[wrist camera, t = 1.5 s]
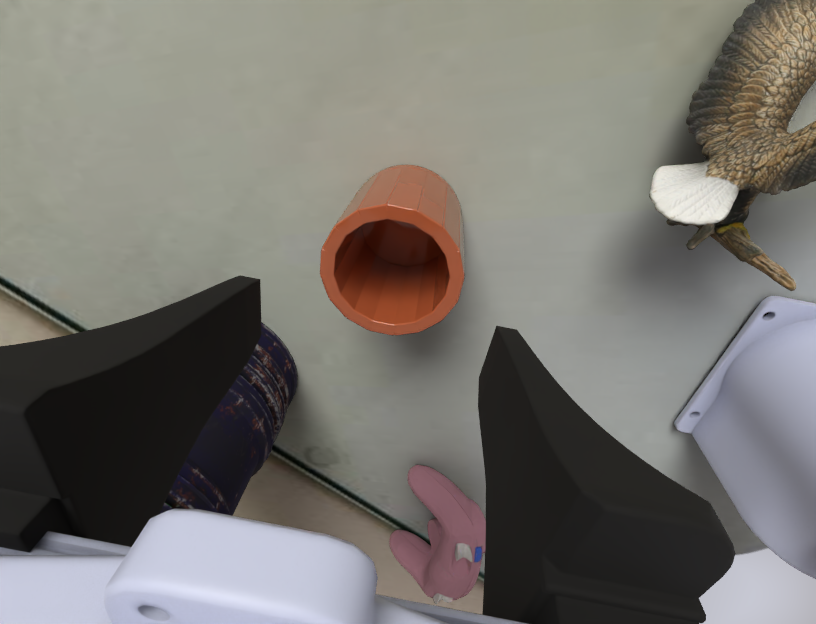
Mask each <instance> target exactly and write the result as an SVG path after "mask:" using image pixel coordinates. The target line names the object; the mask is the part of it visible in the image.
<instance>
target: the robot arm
mask: <svg viewBox="0 0 816 624" xmlns="http://www.w3.org/2000/svg"><path fill="white" fill-rule="evenodd" d="M767 312H769V314H767V315H766V316H763V315H764V314H765V313H767ZM260 337H261V296H260V279H255V278H250V277H245V276H237V277H235V278H232V279H229V280H227V281H225V282H222V283H220V284H218V285H215V286H213V287H211V288H209V289H206V290H204V291H202V292H200V293H197V294H195V295H193V296H190V297H188V298H186V299H183V300H181V301H178V302H176V303H173V304H171V305H168V306H166V307H163V308H160V309H158V310H155V311H153V312H150V313H147V314H144V315H142V316H138V317H135V318H132V319H129V320H126V321H122V322H119V323H116V324H112V325H109V326H105V327H101V328H97V329H93V330H88V331H84V332H80V333H75V334H71V335H67V336H62V337H57V338H52V339H46V340H41V341H35V342H28V343H22V344H16V345H9V346H1V347H0V624H699V623H703V622H704V621H705V620H706V614H705V612H704V610H703V607H702V605H701V603H700V601H699V597H700V596H701V595H703V594H704V593H705V592H706V591H707V590H708V589H709V588H710V587H712V586H713V585H714V584H715V583H716V582H717V581H718V580H719V579H721V578H722V577H723V576H724V575H725V573H726V572H727V571H728V570H729V568H730V567H731V565H732V563H733V560H734V556H735V551H734V547H733V543H732V542H731V540H730V538H729V536H728V534H727V533H726V531H725V529H724V527H723V525H722V524H721V522H720V520H719V518H718V516H717V515H716V513H715V511H714V509H713V507H712V506H711V504H710V503H709V502H707V501H706V500H704V499H703V498H701V497H699V496H698V495H696V494H694V493H693V492H691V491H689V490H688V489H686V488H685V487H683V486H681V485H680V484H678V483H676V482H675V481H673V480H671V479H670V478H668V477H667V476H665V475H664V474H662V473H661V472H659V471H658V470H656V469H655V468H654V467H652V466H651V465H649V464H648V463H646V462H645V461H643V460H642V459H641V458H639V457H638V456H637V455H635V454H634V453H633V452H631V451H630V450H629V449H627V448H626V447H625V446H623V445H622V444H621V443H620V442H619V441H617V440H616V439H615V438H614V437H612V436H611V435H610V434H609V433H607V432H606V431H605V430H604V429H603V428H602V427H601V426H599V425H598V424H597V423H596V422H595V421H594V420H593V419H592V418H591V417H590V416H589V415H588V414H587V413H586V412H584V411H583V410H582V409H581V408H580V407H579V406H578V405H577V404H576V403H575V402H574V401H573V400H572V398H571V397H570V396H569V395H568V394H567V393H566V392H565V391H564V390H563V388H562V387H561V386H560V385H559V384H558V383H557V382H556V380H555V379H554V378H553V377H552V376H551V374H550V373H549V372H548V371H547V369H546V368H545V367H544V366H543V364H542V363H541V362H540V360H539V359H538V358H537V356H536V355H535V354H534V352H533V351H532V350H531V348H530V347H529V345H528V344H527V343H526V341H525V340H524V339H523V337H522V336H521V335H520V333H519V332H518V331H517V330H515V329H510V328H505V327H500V326H496V329H495V332H494V335H493V338H492V341H491V344H490V347H489V350H488V353H487V356H486V359H485V361H484V364H483V367H482V370H481V373H480V376H479V394H478V409H479V419H480V429H481V438H482V447H483V456H484V465H485V478H486V542H485V575H484V599H483V615H481V614H476V613H470V612H465V611H460V610H455V609H450V608H444V607H439V606H434V605H429V604H424V603H419V602H413V601H408V600H403V599H398V598H393V597H387V596H382V595H377V594H375V592H376V586H377V579H378V577H377V573H376V569H375V565H374V562H373V561H372V559H371V558H370V557H369V556H368V555H367V554H365V553H364V552H363V551H362V550H361V549H359V548H358V547H357V546H356V545H355V544H353V543H351V542H348V541H346V540H343V539H340V538H337V537H334V536H331V535H328V534H324V533H319V532H314V531H309V530H303V529H298V528H293V527H288V526H283V525H278V524H272V523H267V522H262V521H257V520H252V519H247V518H241V517H236V516H231V515H226V514H221V513H216V512H210V511H205V510H199V509H172V510H168V511H166V512H164V513H161V514H159V513H160V511H161V509H162V507H163V505H164V503H165V501H166V499H167V497H168V494H169V492H170V490H171V488H172V486H173V484H174V482H175V480H176V478H177V476H178V474H179V472H180V470H181V468H182V467H183V465H184V463H185V461H186V459H187V457H188V455H189V453H190V451H191V449H192V447H193V446H194V444H195V442H196V440H197V438H198V436H199V435H200V433H201V431H202V429H203V428H204V426H205V424H206V423H207V421H208V420H209V418H210V416H211V415H212V414H213V412H214V411H215V409H216V408H217V406H218V405H219V403H220V402H221V401H222V399H223V398H224V396H225V395H226V393H227V392H228V391H229V389H230V388H231V386H232V385H233V383H234V382H235V380H236V379H237V377H238V376H239V375H240V373H241V372H242V370H243V369H244V367H245V366H246V364H247V363H248V361H249V359H250V357H251V355H252V353H253V351H254V349H255V347H256V345H257V343H258V341H259V339H260ZM692 412H694V413H692ZM674 425H675V427H676V429H677V430H678V431H681V432H685V433H690V434H692V436H693V437H694V439H695V441H696V442H697V444H698V446H699V447H700V449H701V451H702V452H703V454H704V456H705V457H706V459H707V461H708V462H709V464H710V466H711V467H712V469H713V471H714V472H715V474H716V476H717V477H718V479H719V481H720V482H721V484H722V486H723V487H724V489H725V491H726V492H727V494H728V496H729V497H730V499H731V501H732V502H733V504H734V506H735V507H736V509H737V511H738V512H739V514H740V516H741V517H742V519H743V520H744V521H745V523H746V524H747V525H748V527H749V528H750V529H751V530H752V531H753V533H754V534H755V535H756V536H757V537H758V538H759V539H760V540H761V541H762V542H763V543H764V544H765V545H766V546H767V547H768V548H769V549H771V550H772V551H773V552H774V553H775V554H776V555H778V556H779V557H780V558H781V559H783V560H784V561H785V562H787V563H788V564H789V565H791V566H793V567H794V568H796V569H797V570H799V571H801V572H803V573H805V574H807V575H808V576H811V577H813V578H815V579H816V303H811V302H806V301H801V300H796V299H791V298H786V297H781V296H769V297H767V298H765V299H764V300H763V301H762V302H761V303H760V304H759V305H758V307H757V308H756V310H755V311H754V312H753V314H752V315H751V316H750V318H749V319H748V321H747V322H746V323H745V325H744V326H743V328H742V329H741V330H740V332H739V333H738V334H737V336H736V337H735V339H734V340H733V341H732V343H731V344H730V346H729V347H728V348H727V350H726V351H725V352H724V354H723V355H722V357H721V358H720V359H719V361H718V362H717V363H716V365H715V366H714V368H713V369H712V370H711V372H710V373H709V375H708V376H707V377H706V379H705V380H704V381H703V383H702V384H701V386H700V387H699V388H698V390H697V391H696V393H695V394H694V395H693V397H692V398H691V399H690V401H689V402H688V404H687V405H686V406H685V408H684V409H683V411H682V412H681V413H680V415H679V416H678V417H677V419H676V420H675V422H674Z"/></svg>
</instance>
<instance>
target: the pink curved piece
mask: <svg viewBox="0 0 816 624" xmlns="http://www.w3.org/2000/svg"><path fill="white" fill-rule="evenodd" d="M408 484H409V485H410V487H411V489H412V491H413V493H414V494H415V495H416V496H417V497H418V498H419V499H420V500H421V501H422V503H423V504H424V505H425V506H426V507H427V508H428V509H429V510H430V511H431V512H432V514H433V515H434V516H435V517H436V518H434V519H432V520H430V521H429V522H428V535H429V539H430V543H431V546H430V545H429V544H427V543H426V542H425V541H424V540H422V539H421V538H420V537H418V536H416V535H415V534H413V533H410V532H408V531H404V530H401V529H400V530H396V531H394V532H393V533H392V534H391V536H390V549H391V551H392V553H393V555H394V556H395V558H396V559H397V561H398V562H399V563H400V564H401V565H402V566H403V567H404V568H405V569H406V570H407V571H408V572H409V573H410V574H411V575H412V576H413V578H414V579H415V580H416V581H417V583H418V584H419V585H420V587H421V588H422V590H423V591H424V593H425V594H426V595H427V596H428V597H431V598H433V600H434V603H435V604H437V603H438V602H439V601H440V600H443V601H445V602H452V601H453V600H457V599H459V598H461V597H464V596H466V595H467V594H468V593H469V592H470V591H471V590H472V588H473V587H474V585H475V583H476V580H477V578H478V574H479V571H480V566H481V560H482V554H483V553H485V542H486V520H485V518H484V515H483V513H482V511H481V510H480V508H479V506H478V505H477V504H476V503H475V502H474V501H473V500H471V499H468V498H467V497H466V496H465V495H464V494H463V492H462V491H461V490H460V489H459V488H458V487H457V486H456V485H455V484H454V483H453V482H451V481H450V480H449V479H448V478H447V477H445V476H444V475H443V474H441V473H439V472H438V471H436V470H434V469H433V468H430V467H428V466H423V465H415V466H413V467H412V468H411V469H410V470H409V472H408Z"/></svg>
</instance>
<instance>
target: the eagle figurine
mask: <svg viewBox="0 0 816 624" xmlns="http://www.w3.org/2000/svg"><path fill="white" fill-rule="evenodd" d="M733 26H734V32H732V33H731V34H730V35H729V37H728V39H727V41H726V42H725V43H724V44H723V48H722V52H723V55H721V56H719V57H718V58H717V60H716V62H715V65H714V66H713V68H711V69H710V72H709V76H708V77H709V78H708V79H707V80H706V81H704V82H702V83H701V84H700V86H699V89H698V90H697V91H696V92H695V93H694V94H693V99H692V102H691V103H690V108H689V109H690V114H689V116H688V117H687V121H686V123H687V124H688V125H689V128H688V130H689V133H692V134H695V135H696V141H697V143H698V144H699V145H703V149H702V154H703V156H705V157H706V161H705V162H701V163H693V164H685V165H668V166H661V167H659V168H658V169H657V170H656V172H655V173H654V175H653V178H652V186H651V190H650V193H649V197H650V199H651V200H652V201H653V202H654V205H655V208H656V209H657V211H658V212H660V213H661V214H663V215H664V216H665V217H666V218H667V219H668V220H667V221H666V222H667V224H668V225H670V226H674V225H683V226H688V225H695V226H697V227H698V228H699V229H698V231H697V232H696V234H695V235H694V236H693V237H692V238H691V239H690V240H689V241H688V243H687V244H686V246H687V248H688V249H689V250H692V249H694V248H695V247H696V246H697V245H698V244H700V243H701V242H702V241H703V240H704V239H706V238H707V237H709V236H711V237H712V238H713V239H715V240H716V241H717V242H719V243H720V244H721V245H722V246H723V247H724V248H726V249H727V250H728V251H730V252H731V253H732V254H734V255H735V256H736V257H737V258H738V259H739V260H740V261H743V262H747V263H748V264H750V265H752V266H754V267H755V268H757V269H759V270H760V271H762V272H763V273H765V274H766V275H768V276H769V277H770V278H772V279H773V280H774V281H776V282H777V283H779V284H780V285H782V286H783V287H785V288H786V289H788V290H790V291H793V290H795V289H796V283H795V281H794V280H793V279H792V278H791V276H790V275H789V274H788V273H787V271H786V270H785V269H784V268H782V267H781V266H780V265H778V264H777V263H775V262H774V261H772V260H771V259H770V258H769V257H768V256H767V255H766V254H765V253H764V252H763V250H762V249H761V248H760V247H759V246H757V245H756V244H755V243H753V242H752V241H751V240H750V236H749V234H748V231H747V229H746V228H745V227H744V224H743V223H744V221H745V220H746V218H747V216H748V214H749V206H750V205H751V204H752V202H753V201H754V199H755V198H756V196H757V195H758V194H759V193H760V192H762V193H770V194H771V195H777V194H779V193H780V192H781V191H782V190H784V191H789V190H791V189H796V188H798V187H801V186H805V185H807V184H809V183H810V182H813V181H816V121H815V122H813V123H811V124H809V125H808V126H806V127H805V128H803V129H801V130H798V131H796V132H795V133H792V134H789V133H788V132H787V126H788V123H789V121H790V119H791V117H792V115H793V113H794V112H795V110H796V108H797V107H798V105H799V103H800V101H801V99H802V98H803V96H804V95H805V93H806V92H807V90H808V89H809V88H810V86H811V85H812V84H813V83H814V81H815V80H816V0H755V2H754V3H752V4H750V5H748V6H747V7H746V8H745V9H744V12H743V15H742V16H741V17H739V18H738V19H737V20H736V21H735V23H734V25H733Z"/></svg>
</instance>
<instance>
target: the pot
mask: <svg viewBox="0 0 816 624" xmlns="http://www.w3.org/2000/svg"><path fill="white" fill-rule="evenodd" d="M320 274H321V278H322V281H323V284H324V286H325V289H326V292H327V295H328V297H329V298H330V300H331V301H332V303H333V304H334V305H335V306H336V307H337V308H338V309H339V310H340V312H341V313H342V314H343V315H344V316H345V317H347V319H349V320H351V321H353V322H354V323H356V324H358V325H360V326H361V327H363V328H365V329H367V330H369V331H373V332H378V333H383V334H388V335H403V334H411V333H418V332H421V331H423V330H425V329H427V328H429V327H431V326H433V325H435V324H437V323H438V322H440V321H441V320H443V319H444V318H445V317H446V315H447V314H448V313H449V312H450V311H451V309H452V308H453V307H454V306H455V305H456V303H457V302H458V300H459V297H460V293H461V289H462V285H463V282H464V276H465V271H464V232H463V220H462V211H461V207H460V203H459V201H458V198H457V196H456V194H455V192H454V191H453V189H452V188H451V187H450V185H449V184H448V183H447V182H446V181H445V180H444V179H443V178H441V177H440V176H439V175H437V174H436V173H434V172H432V171H430V170H428V169H425V168H422V167H419V166H413V165H398V166H393V167H389V168H386V169H384V170H382V171H379V172H378V173H376V174H375V175H373V176H372V177H371V178H370V179H369V180H368V181H367V182H366V183H365V184H363V186H362V187H361V188H360V190H359V191H358V192H357V194H356V195H355V197H354V198H353V200H352V201H351V203H350V204H349V205H348V207H347V208H346V210H345V211H344V213H343V214H342V215H341V217H340V218H339V220H338V221H337V223H336V224H335V226H334V227H333V229H332V231H331V232H330V234H329V236H328V238H327V240H326V241H325V243H324V245H323V247H322V250H321V263H320Z"/></svg>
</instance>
